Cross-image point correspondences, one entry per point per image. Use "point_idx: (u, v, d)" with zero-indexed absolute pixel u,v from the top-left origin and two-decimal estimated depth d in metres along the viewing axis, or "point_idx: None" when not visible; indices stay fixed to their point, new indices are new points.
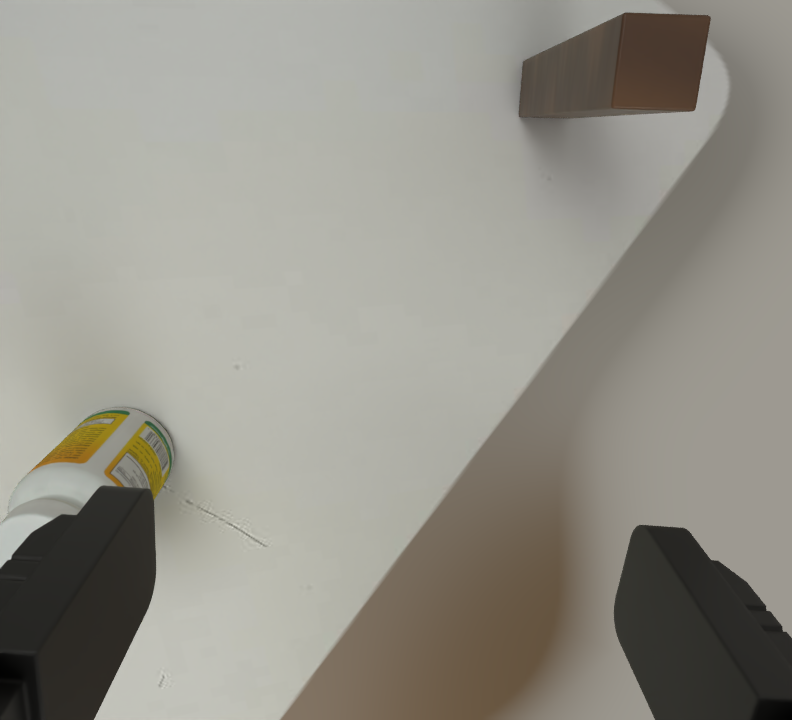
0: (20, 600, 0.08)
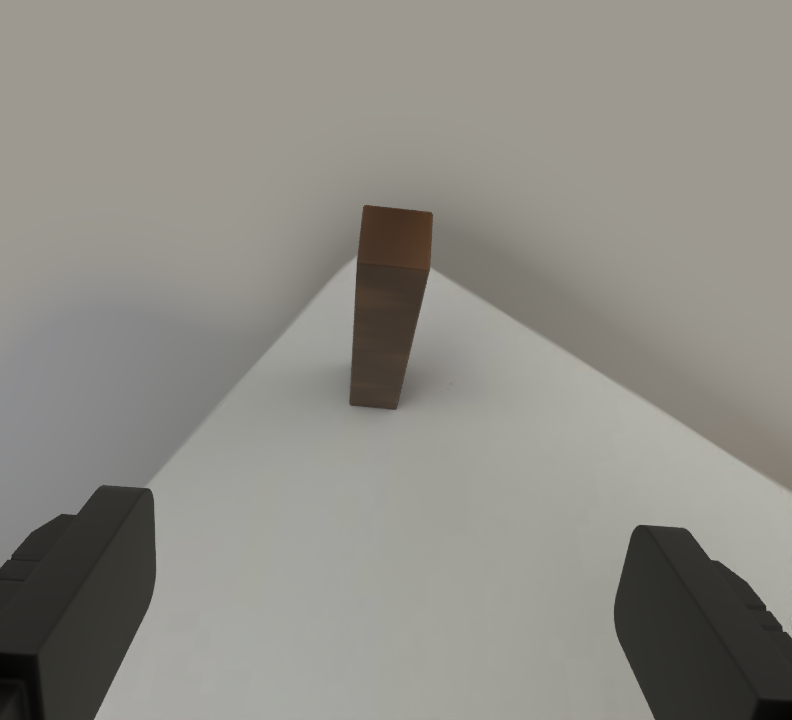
0: (20, 600, 0.08)
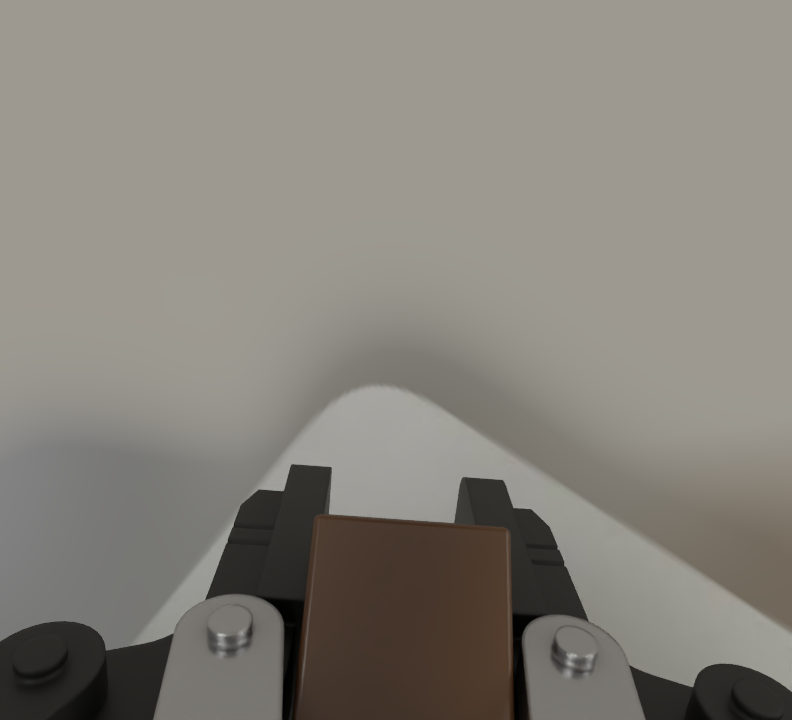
0: (275, 558, 0.09)
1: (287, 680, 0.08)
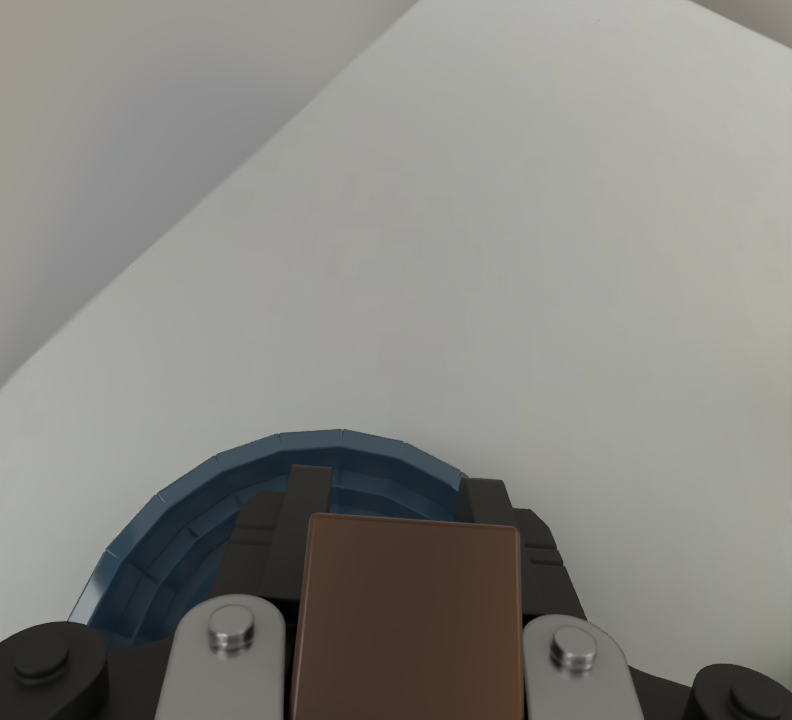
0: (276, 558, 0.09)
1: (288, 680, 0.08)
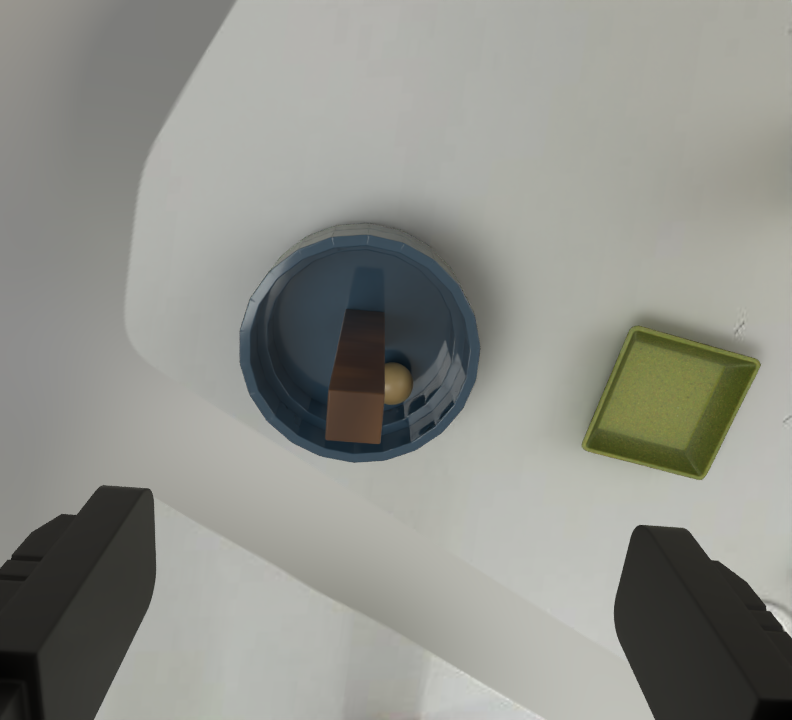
0: (20, 600, 0.08)
1: None
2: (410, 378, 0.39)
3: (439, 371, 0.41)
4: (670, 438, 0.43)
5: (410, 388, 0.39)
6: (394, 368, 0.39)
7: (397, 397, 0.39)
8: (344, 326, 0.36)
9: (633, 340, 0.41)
